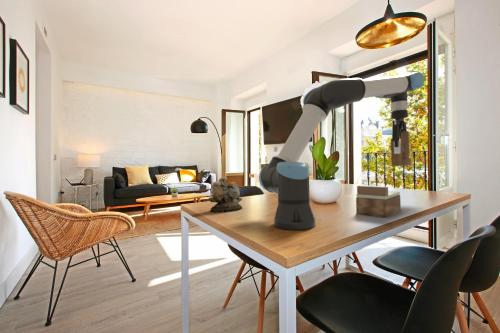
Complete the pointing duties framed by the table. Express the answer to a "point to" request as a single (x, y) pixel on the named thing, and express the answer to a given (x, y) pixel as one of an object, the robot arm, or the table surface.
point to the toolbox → (378, 206)
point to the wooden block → (401, 151)
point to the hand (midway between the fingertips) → (400, 153)
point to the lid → (375, 192)
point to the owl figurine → (225, 196)
